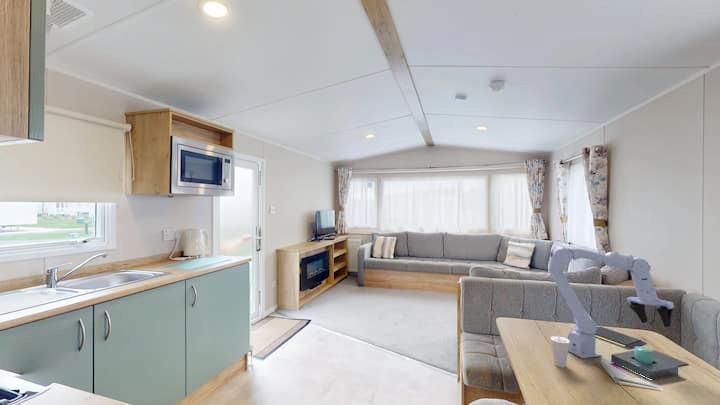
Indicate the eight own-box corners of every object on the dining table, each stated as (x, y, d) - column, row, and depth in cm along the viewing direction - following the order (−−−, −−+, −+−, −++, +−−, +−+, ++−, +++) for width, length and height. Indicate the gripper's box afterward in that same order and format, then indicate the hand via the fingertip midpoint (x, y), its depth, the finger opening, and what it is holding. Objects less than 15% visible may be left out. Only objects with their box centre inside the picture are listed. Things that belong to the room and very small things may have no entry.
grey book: (648, 341, 138) (628, 347, 132) (648, 345, 138) (628, 351, 132) (599, 324, 157) (579, 329, 151) (599, 328, 157) (579, 333, 151)
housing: (649, 380, 110) (649, 371, 110) (611, 362, 122) (611, 354, 122) (678, 374, 114) (678, 366, 113) (637, 357, 126) (638, 349, 126)
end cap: (646, 372, 115) (646, 353, 115) (631, 365, 120) (631, 347, 120) (656, 370, 116) (656, 351, 116) (640, 364, 121) (641, 345, 121)
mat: (667, 368, 118) (667, 367, 118) (635, 354, 128) (635, 353, 128) (688, 364, 121) (688, 363, 121) (654, 351, 131) (654, 350, 131)
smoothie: (552, 358, 125) (553, 323, 125) (571, 364, 120) (572, 328, 120) (548, 364, 120) (548, 328, 120) (567, 371, 116) (568, 333, 116)
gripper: (674, 287, 116) (686, 325, 115) (631, 284, 130) (642, 317, 129) (661, 293, 114) (673, 331, 113) (619, 288, 128) (630, 322, 127)
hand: (656, 324), depth 120 cm, fingers open, 7 cm apart
